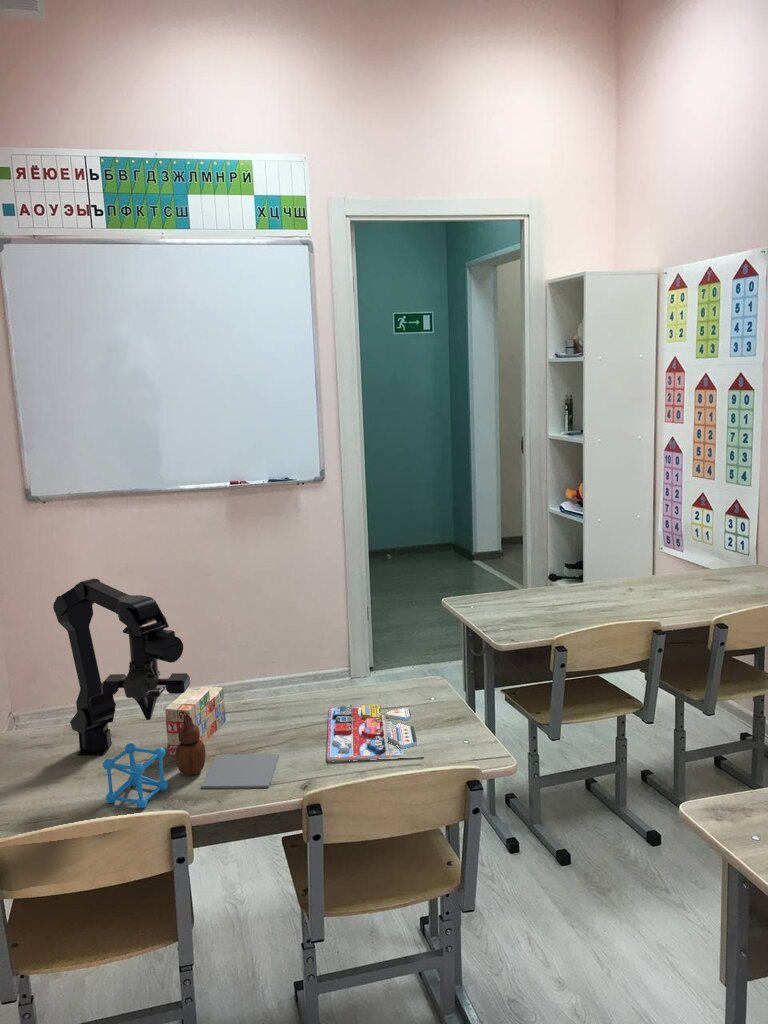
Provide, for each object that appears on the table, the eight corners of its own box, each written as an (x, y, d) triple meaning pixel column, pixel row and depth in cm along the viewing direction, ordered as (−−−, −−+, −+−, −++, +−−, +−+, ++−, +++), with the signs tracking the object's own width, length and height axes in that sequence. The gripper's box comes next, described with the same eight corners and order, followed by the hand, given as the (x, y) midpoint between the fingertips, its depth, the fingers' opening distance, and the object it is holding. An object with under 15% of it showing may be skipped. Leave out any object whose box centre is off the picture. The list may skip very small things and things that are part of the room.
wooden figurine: (190, 781, 187) (185, 718, 185) (172, 775, 190) (167, 713, 188) (211, 768, 193) (207, 707, 190) (193, 763, 196) (189, 703, 193)
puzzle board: (425, 760, 196) (424, 750, 195) (327, 765, 195) (326, 754, 194) (413, 708, 226) (413, 698, 225) (328, 712, 225) (328, 702, 224)
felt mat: (201, 788, 184) (201, 786, 184) (216, 756, 199) (216, 754, 199) (268, 787, 184) (268, 785, 184) (279, 756, 198) (278, 754, 198)
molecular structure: (103, 804, 179) (99, 760, 177) (132, 782, 188) (128, 740, 186) (143, 811, 175) (139, 767, 174) (170, 788, 185) (167, 746, 183)
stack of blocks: (203, 719, 221) (201, 675, 219) (226, 720, 220) (223, 676, 217) (168, 756, 200) (164, 708, 198) (192, 758, 199) (189, 709, 197)
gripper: (89, 667, 179) (95, 735, 182) (175, 666, 179) (180, 734, 181) (107, 649, 190) (112, 714, 193) (188, 648, 190) (192, 713, 192)
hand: (148, 719), depth 190 cm, fingers closed
